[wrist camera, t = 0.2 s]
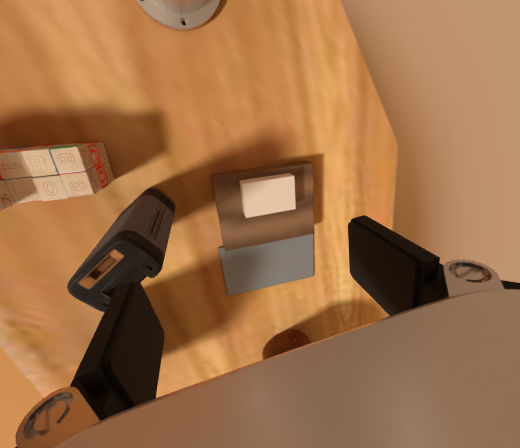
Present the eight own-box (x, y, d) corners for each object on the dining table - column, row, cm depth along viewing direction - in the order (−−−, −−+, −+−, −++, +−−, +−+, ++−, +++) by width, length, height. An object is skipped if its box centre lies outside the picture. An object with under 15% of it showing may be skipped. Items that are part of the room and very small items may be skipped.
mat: (218, 247, 50) (218, 248, 50) (312, 229, 53) (313, 229, 53) (227, 294, 55) (227, 296, 55) (312, 275, 58) (313, 276, 58)
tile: (239, 180, 43) (241, 184, 41) (289, 172, 44) (294, 175, 42) (243, 213, 45) (246, 217, 43) (291, 204, 47) (295, 209, 45)
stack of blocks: (103, 140, 39) (66, 149, 28) (115, 180, 41) (86, 203, 30) (-65, 153, 35) (-187, 169, 24) (-41, 196, 37) (-140, 230, 26)
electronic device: (143, 240, 46) (109, 319, 28) (114, 219, 43) (57, 291, 25) (179, 206, 45) (168, 265, 27) (152, 183, 42) (121, 231, 25)
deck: (210, 175, 44) (211, 178, 41) (306, 161, 47) (313, 163, 45) (223, 244, 50) (224, 251, 47) (307, 227, 53) (313, 233, 50)
